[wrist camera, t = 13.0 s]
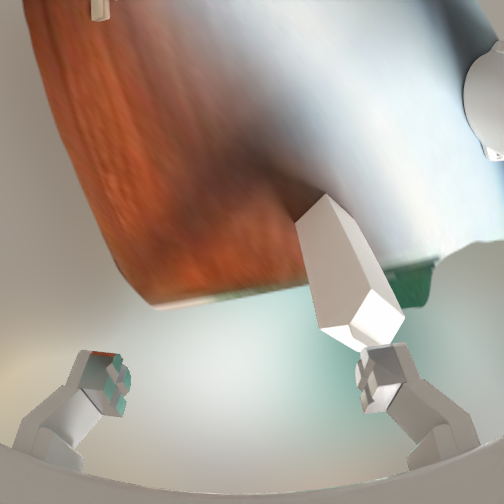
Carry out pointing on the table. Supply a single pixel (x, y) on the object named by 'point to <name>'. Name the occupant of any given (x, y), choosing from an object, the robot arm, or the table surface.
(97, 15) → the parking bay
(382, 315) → the milk
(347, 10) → the table surface
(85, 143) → the table surface
